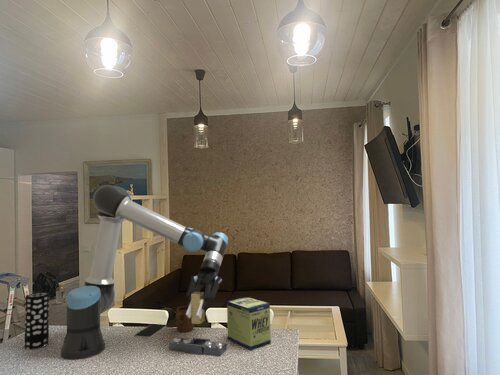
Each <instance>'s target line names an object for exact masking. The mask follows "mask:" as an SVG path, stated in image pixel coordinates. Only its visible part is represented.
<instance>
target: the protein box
mask: <svg viewBox="0 0 500 375" xmlns="http://www.w3.org/2000/svg"><path fill="white" fill-rule="evenodd" d="M226 304H227V305H226V312H227V313H226V314H227V315H226V316H227V317H226V318H227V319H226V320H227V321H226V322H227V340H228V341H230V342H233V343H234V344H236V345H239V346H240V347H243V348H245V349H247V350H249V351H253V350H255V349H256V350H257V349H258V348H263V347H265V346H267V345H271V344H272V339H271V338H272V336H271V303H270V302H266V301H262V300H258V299H255V298H252V297H247V296H245V297H240V298H236V299H232V300H231V299H230V300H227V302H226ZM270 343H271V344H270Z"/></svg>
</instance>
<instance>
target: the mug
mask: <svg viewBox="0 0 500 375" xmlns="http://www.w3.org/2000/svg"><path fill="white" fill-rule="evenodd" d="M187 310H188V307H187V305H183V306H178V307H177V308H176V316H175V322H176V331H177V332H180V333H188V332H191V331H193V330H194V328H195V324H193V323H192V315H191V318H188V317H187V315H186V313H187Z"/></svg>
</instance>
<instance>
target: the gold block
mask: <svg viewBox="0 0 500 375" xmlns="http://www.w3.org/2000/svg"><path fill="white" fill-rule="evenodd" d="M204 295H205V291H200V292H194V293H192V294H191V309H192V323H193V324H194V325H195V324H196V325H201V324H203V323H204V322H205V310H203V313H202V316H201V319H199V318H198V317H197V316H196V315H197V312H198V309H199V306H200V303H201V300H202V299H204V298H203V297H204Z"/></svg>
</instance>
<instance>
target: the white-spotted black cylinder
mask: <svg viewBox="0 0 500 375" xmlns="http://www.w3.org/2000/svg"><path fill="white" fill-rule="evenodd" d="M24 303H25V304H24V307H25V309H24V310H25V311H24V344H23V345H24V349H26V350H35V349H34V348H36V349H40V348H39V347H41V348H43V347H42V346H44V345H46V344H47V345H49V343H48V342H49V339H50V338H49V336H50V333H49V332H50V331H49V330H50V292H37V293H36V292H35V293H29V294H27V295H25V302H24ZM47 345H46V346H47ZM44 347H45V346H44Z"/></svg>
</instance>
